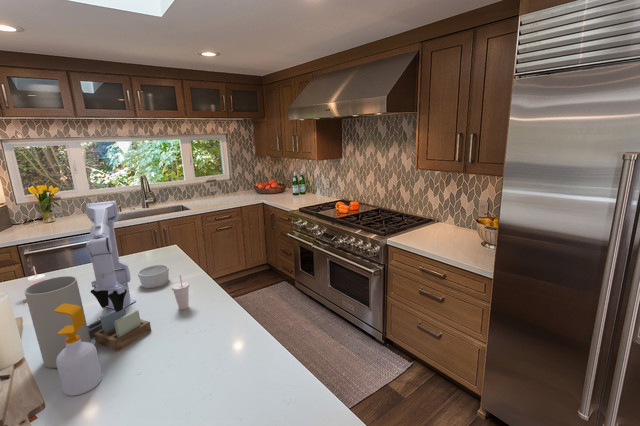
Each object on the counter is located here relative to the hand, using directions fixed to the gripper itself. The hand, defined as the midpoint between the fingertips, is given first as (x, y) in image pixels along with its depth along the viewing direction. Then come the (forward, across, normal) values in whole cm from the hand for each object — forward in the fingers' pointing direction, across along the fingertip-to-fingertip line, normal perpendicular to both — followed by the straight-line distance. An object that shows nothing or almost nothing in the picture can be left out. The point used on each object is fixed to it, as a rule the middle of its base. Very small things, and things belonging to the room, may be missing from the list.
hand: (112, 308), depth 115 cm
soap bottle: (+10, +15, -20) cm, 27 cm away
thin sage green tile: (+10, +7, 0) cm, 12 cm away
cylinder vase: (+10, -3, -14) cm, 18 cm away
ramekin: (+11, -23, +35) cm, 43 cm away
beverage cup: (+10, -63, +7) cm, 65 cm away
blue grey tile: (+10, 0, 0) cm, 10 cm away
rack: (+10, +4, 0) cm, 11 cm away
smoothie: (+10, +8, +23) cm, 26 cm away
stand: (+10, -8, +1) cm, 13 cm away
